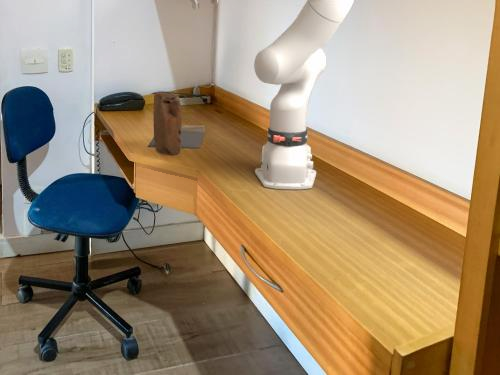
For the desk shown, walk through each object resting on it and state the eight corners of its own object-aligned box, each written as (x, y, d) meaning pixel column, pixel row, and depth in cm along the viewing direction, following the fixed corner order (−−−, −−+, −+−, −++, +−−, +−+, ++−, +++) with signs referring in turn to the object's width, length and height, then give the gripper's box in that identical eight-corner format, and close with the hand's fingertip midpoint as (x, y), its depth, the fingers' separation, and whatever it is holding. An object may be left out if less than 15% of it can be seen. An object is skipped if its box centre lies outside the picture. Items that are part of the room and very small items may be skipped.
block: (152, 149, 209) (151, 91, 202) (172, 147, 212) (172, 90, 206) (163, 157, 200) (162, 97, 193) (184, 154, 203) (184, 95, 197)
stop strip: (204, 132, 234) (204, 126, 233) (157, 131, 234) (157, 125, 233) (204, 131, 236) (204, 125, 235) (158, 130, 236) (158, 124, 235)
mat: (198, 148, 211) (198, 147, 211) (147, 147, 211) (147, 146, 211) (204, 132, 234) (204, 131, 234) (157, 131, 234) (157, 130, 234)
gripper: (189, -34, 180) (191, 13, 187) (231, -42, 195) (232, 2, 202) (174, -36, 184) (176, 10, 190) (216, -44, 198) (217, -1, 205)
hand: (205, 6), depth 196 cm, fingers open, 8 cm apart
